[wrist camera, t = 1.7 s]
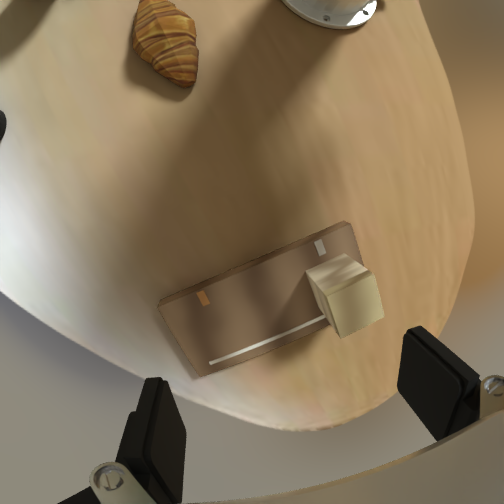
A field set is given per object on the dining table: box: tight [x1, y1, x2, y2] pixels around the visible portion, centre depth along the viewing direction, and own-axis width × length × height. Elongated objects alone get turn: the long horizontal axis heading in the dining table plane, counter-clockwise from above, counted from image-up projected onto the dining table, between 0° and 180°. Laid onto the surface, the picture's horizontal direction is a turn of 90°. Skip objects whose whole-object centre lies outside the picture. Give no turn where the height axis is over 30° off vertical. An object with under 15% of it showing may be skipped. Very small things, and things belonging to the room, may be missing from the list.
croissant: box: [132, 0, 199, 88], centre depth 24 cm, size 14×7×5 cm, turn 25°
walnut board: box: [157, 221, 364, 377], centre depth 33 cm, size 22×10×2 cm, turn 113°
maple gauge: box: [305, 253, 385, 338], centre depth 29 cm, size 5×5×7 cm
